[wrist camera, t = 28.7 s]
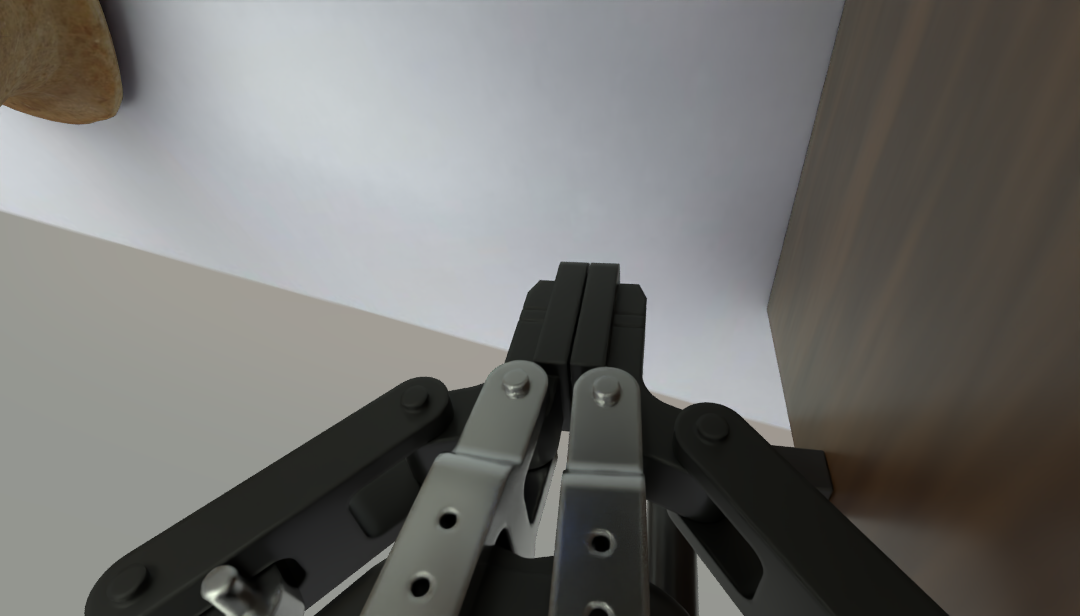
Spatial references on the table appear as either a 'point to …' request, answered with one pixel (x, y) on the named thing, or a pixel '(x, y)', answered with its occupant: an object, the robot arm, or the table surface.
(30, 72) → the stone cup
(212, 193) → the table surface
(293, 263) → the table surface
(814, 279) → the cupboard door
